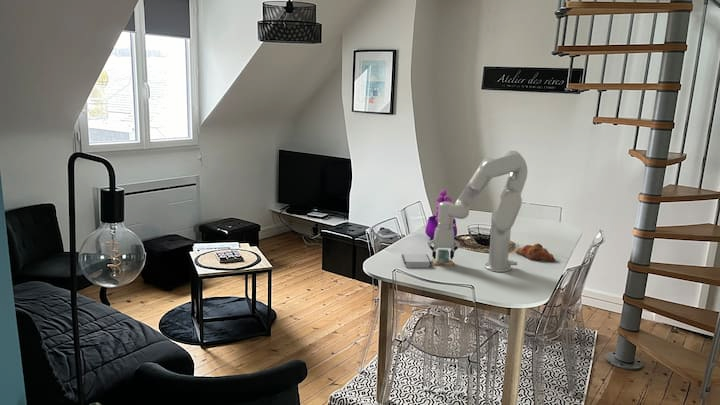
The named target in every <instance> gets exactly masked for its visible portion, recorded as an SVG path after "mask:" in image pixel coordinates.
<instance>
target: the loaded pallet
mask: <svg viewBox="0 0 720 405" xmlns="http://www.w3.org/2000/svg"><path fill="white" fill-rule="evenodd" d="M431 263H433V266H434V267H435V266H436V267H437V266H438V267H439V266H441V267H442V266H448V267H449V266H455V265H454V264H455V263H454V262H453V259H451V258H450V251H449V250H448V248H437V254H436V259H434V258H432V261H431Z"/></svg>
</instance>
